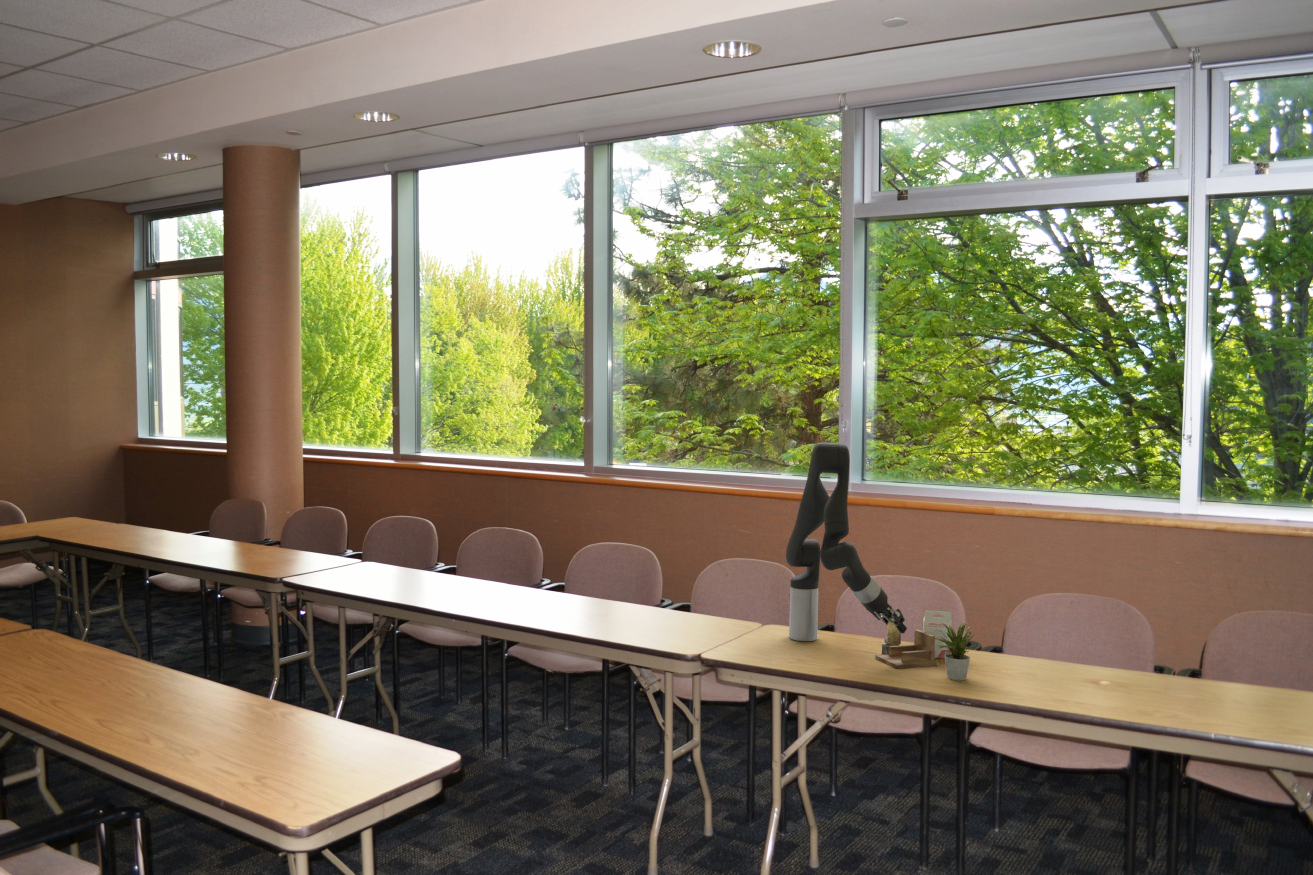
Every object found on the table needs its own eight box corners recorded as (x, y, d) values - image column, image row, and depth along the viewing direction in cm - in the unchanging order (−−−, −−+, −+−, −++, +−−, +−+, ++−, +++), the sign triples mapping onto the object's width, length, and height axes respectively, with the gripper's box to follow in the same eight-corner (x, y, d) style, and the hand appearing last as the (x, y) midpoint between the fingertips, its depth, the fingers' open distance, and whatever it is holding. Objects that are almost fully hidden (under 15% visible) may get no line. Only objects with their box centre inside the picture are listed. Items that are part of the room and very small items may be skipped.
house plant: (936, 667, 291) (938, 613, 290) (984, 673, 284) (986, 618, 284) (925, 678, 278) (927, 622, 278) (975, 686, 272) (977, 628, 271)
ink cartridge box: (950, 655, 305) (951, 608, 304) (951, 659, 300) (952, 612, 300) (922, 653, 307) (923, 607, 306) (922, 657, 302) (923, 610, 302)
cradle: (867, 654, 304) (868, 627, 304) (906, 651, 309) (907, 625, 309) (896, 668, 289) (897, 640, 288) (937, 665, 293) (937, 637, 293)
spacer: (884, 642, 295) (885, 610, 295) (896, 641, 296) (896, 610, 296) (891, 645, 291) (892, 613, 291) (903, 644, 293) (904, 613, 292)
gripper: (892, 587, 284) (922, 624, 290) (860, 579, 296) (890, 615, 302) (877, 606, 281) (908, 644, 287) (846, 597, 294) (876, 633, 300)
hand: (899, 629), depth 295 cm, fingers closed on spacer, 4 cm apart
